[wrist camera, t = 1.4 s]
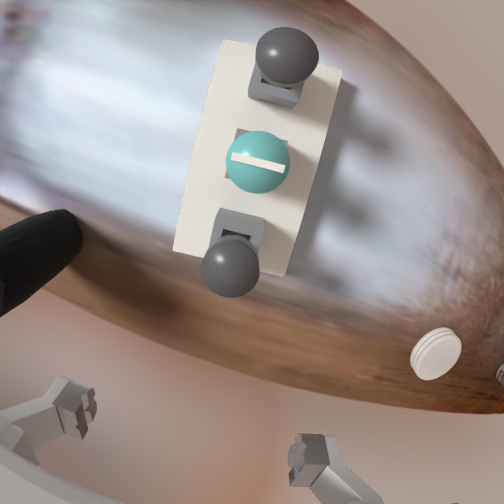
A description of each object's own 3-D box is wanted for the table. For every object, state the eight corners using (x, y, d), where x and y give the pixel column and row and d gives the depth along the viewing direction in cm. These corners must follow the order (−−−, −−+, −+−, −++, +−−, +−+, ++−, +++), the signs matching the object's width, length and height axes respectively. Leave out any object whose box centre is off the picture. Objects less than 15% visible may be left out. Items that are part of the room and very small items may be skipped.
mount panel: (225, 46, 31) (219, 23, 24) (335, 75, 32) (356, 60, 25) (178, 242, 39) (162, 265, 32) (281, 267, 41) (288, 295, 33)
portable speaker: (33, 220, 38) (-57, 266, 19) (73, 195, 37) (-25, 236, 18) (55, 269, 41) (-24, 334, 22) (97, 250, 40) (14, 319, 21)
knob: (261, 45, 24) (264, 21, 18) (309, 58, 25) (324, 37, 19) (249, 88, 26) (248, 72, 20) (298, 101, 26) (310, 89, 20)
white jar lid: (415, 378, 49) (422, 389, 45) (403, 346, 46) (411, 358, 43) (456, 350, 47) (465, 360, 44) (449, 315, 44) (459, 326, 41)
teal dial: (237, 129, 27) (234, 123, 21) (287, 141, 28) (297, 140, 21) (225, 177, 29) (218, 185, 23) (274, 189, 29) (280, 201, 23)
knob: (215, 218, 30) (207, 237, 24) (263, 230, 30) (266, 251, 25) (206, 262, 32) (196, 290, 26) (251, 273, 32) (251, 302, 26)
